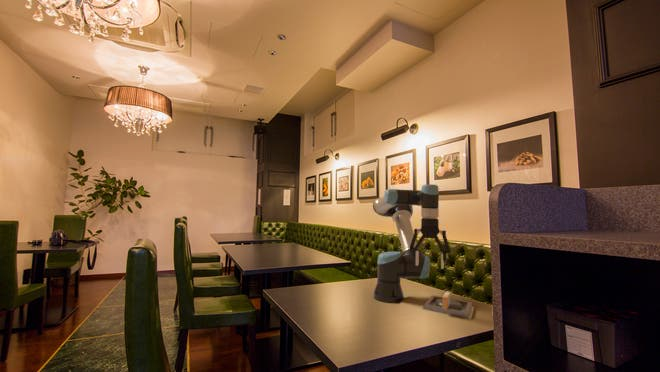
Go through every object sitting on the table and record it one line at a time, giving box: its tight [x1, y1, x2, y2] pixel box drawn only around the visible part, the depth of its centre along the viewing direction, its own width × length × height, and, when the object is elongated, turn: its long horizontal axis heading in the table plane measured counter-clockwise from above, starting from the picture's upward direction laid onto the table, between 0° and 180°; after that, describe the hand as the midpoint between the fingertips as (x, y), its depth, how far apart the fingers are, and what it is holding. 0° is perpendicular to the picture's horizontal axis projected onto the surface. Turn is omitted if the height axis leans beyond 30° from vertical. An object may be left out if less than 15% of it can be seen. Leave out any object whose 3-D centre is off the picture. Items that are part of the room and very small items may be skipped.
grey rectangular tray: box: [421, 295, 475, 320], centre depth 131 cm, size 20×18×3 cm
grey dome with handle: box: [436, 291, 462, 311], centre depth 129 cm, size 17×11×7 cm, turn 150°
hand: (429, 266), depth 130 cm, fingers open, 10 cm apart
